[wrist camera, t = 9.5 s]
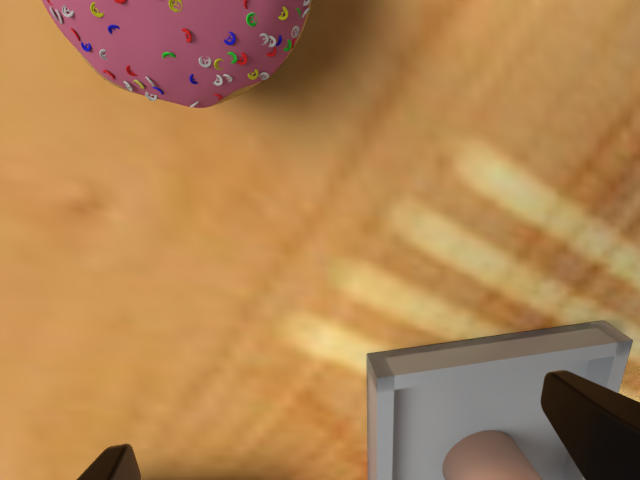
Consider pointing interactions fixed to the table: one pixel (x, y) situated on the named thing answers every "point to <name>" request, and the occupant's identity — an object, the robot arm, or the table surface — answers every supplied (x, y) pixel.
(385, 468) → the tray
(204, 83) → the cupcake
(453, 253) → the table surface
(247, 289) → the table surface
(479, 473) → the cup
